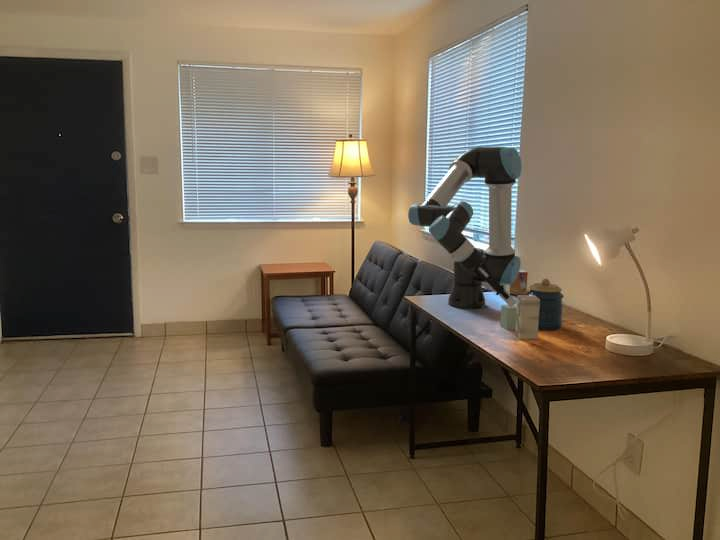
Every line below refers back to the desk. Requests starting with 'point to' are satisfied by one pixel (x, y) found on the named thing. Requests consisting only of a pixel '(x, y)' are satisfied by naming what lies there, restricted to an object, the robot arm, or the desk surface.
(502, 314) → the sage block
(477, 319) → the desk surface
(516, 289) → the small box
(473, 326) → the desk surface
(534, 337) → the tall white box
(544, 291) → the canister
